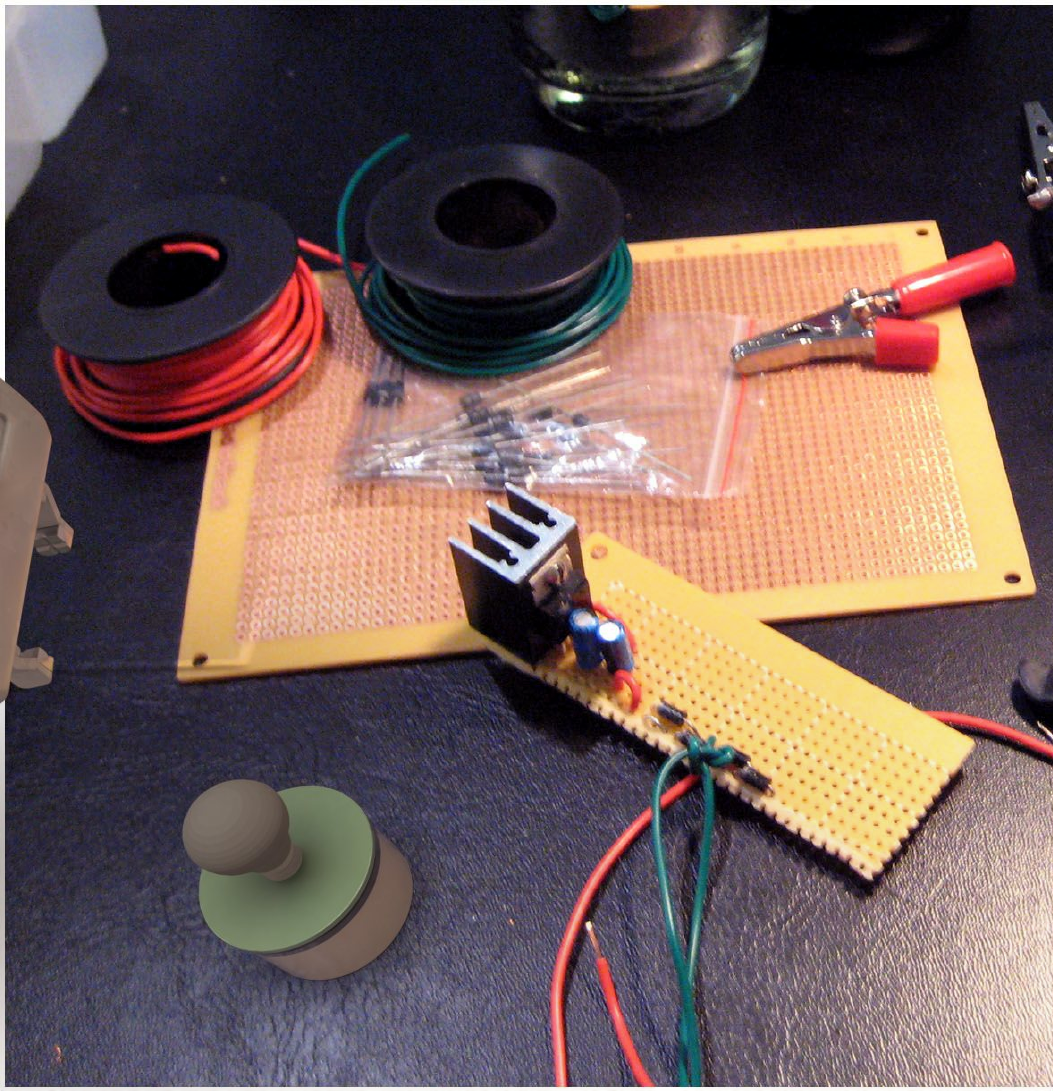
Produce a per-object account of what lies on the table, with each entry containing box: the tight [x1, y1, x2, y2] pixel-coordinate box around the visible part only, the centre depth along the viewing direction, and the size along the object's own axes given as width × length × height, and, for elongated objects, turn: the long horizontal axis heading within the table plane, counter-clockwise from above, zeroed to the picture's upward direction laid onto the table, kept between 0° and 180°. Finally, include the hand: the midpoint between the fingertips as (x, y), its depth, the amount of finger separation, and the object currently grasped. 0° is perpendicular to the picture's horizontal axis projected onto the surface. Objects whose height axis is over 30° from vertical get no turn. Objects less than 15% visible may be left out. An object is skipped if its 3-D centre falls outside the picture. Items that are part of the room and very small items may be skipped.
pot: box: [198, 785, 414, 981], centre depth 86 cm, size 12×12×9 cm
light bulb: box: [182, 778, 302, 881], centre depth 78 cm, size 6×6×10 cm
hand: (50, 608), depth 72 cm, fingers open, 8 cm apart
